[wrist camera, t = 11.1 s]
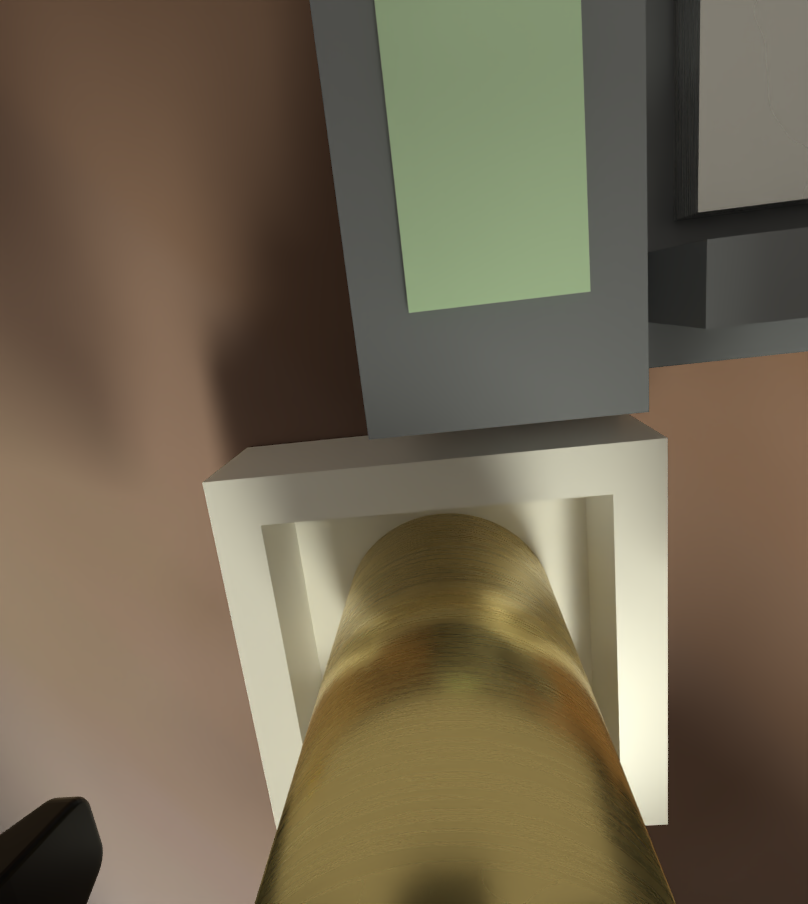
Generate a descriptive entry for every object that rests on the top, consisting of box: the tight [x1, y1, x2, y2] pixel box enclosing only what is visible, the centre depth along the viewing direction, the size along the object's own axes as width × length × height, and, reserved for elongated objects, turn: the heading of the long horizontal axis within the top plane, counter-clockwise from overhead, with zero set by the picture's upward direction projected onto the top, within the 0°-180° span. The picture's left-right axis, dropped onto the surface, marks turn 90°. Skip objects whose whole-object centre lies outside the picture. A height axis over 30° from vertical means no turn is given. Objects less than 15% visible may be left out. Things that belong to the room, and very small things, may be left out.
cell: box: [255, 513, 676, 904], centre depth 8 cm, size 4×4×8 cm
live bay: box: [202, 414, 668, 829], centre depth 11 cm, size 7×7×2 cm
